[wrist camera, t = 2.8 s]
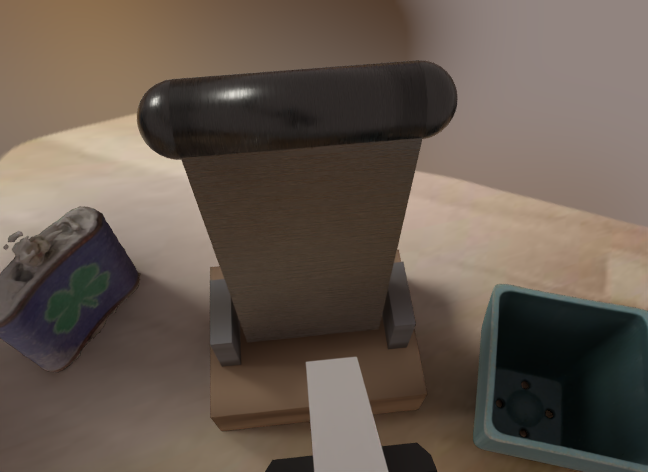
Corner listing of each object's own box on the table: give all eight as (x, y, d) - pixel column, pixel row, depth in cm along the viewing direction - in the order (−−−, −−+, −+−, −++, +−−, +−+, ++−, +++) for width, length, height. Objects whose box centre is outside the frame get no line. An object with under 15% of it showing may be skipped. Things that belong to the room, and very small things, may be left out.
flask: (59, 380, 38) (-27, 321, 29) (29, 358, 39) (-64, 294, 29) (149, 277, 42) (99, 196, 33) (120, 259, 43) (62, 175, 33)
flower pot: (448, 464, 35) (483, 437, 27) (461, 335, 39) (494, 280, 32) (591, 496, 34) (669, 478, 26) (587, 360, 38) (654, 310, 31)
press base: (417, 409, 37) (439, 374, 30) (221, 431, 36) (196, 400, 29) (392, 275, 42) (405, 218, 35) (219, 291, 41) (198, 237, 34)
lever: (397, 335, 35) (474, 98, 17) (228, 353, 34) (122, 126, 16) (390, 298, 36) (454, 40, 18) (228, 314, 36) (129, 65, 18)
